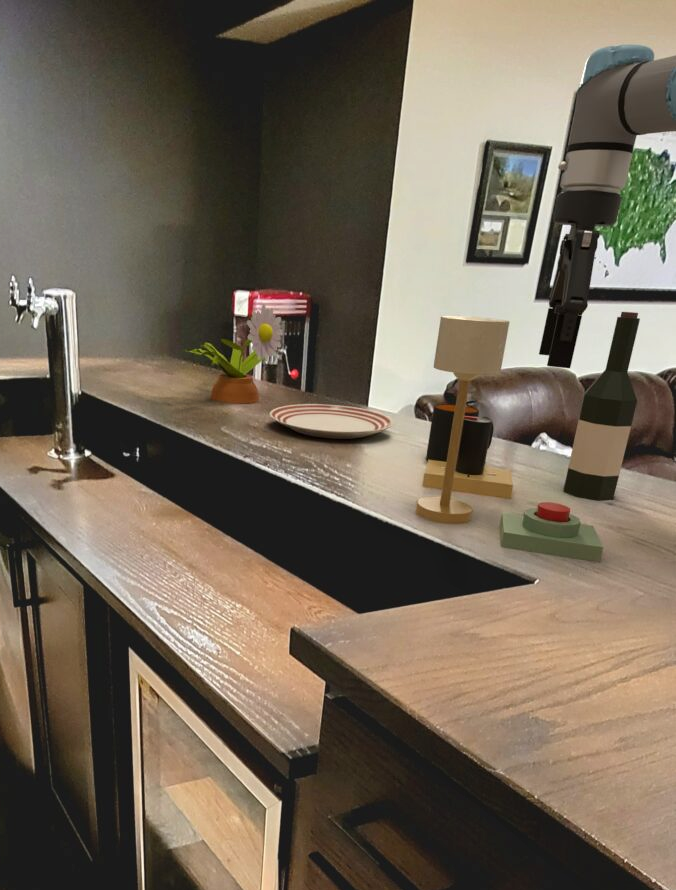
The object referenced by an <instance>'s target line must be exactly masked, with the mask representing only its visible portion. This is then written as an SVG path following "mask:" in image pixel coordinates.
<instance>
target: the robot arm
mask: <svg viewBox="0 0 676 890" xmlns="http://www.w3.org/2000/svg"><path fill="white" fill-rule="evenodd" d="M570 128H571V129H570V133H569V139H568V142H567V148H566V155H565V161H564V160H562V161H560V162H559V163H558V167H557V168H558V170H559V171H560V170H561V171H564V172H563V173H562V174H561V178H560V184H559V187H560V188H561V189H563V191H561V192H559V194H557V196H556V201H555V206H554V209H553V215H552V222H553V223H554V224H556V225H562V226H570V229H569V233H565V235H564V236H563V239H562V240H561V242H560V246H559V256H558V260H557V266H556V271H555V275H554V278H553V282H552V287H551V291H550V294H549V296H548V308H547V314H546V318H545V322H544V328H543V333H542V337H541V342H540V347H539V351H538V355H540V356H548V357H547V363H546V366H547V367H552V368H562V369H571V366H572V362H573V358H574V354H575V349H576V345H577V341H578V336H579V332H580V327H581V322H582V318H583V314H584V313H585V311H586V310H587V309H588V307H589V304H588V301H589V293H590V288H591V282H592V274H593V268H594V263H595V256H596V252H597V249H598V242H599V241H598V240H599V239H600V235H601V233H600V230H596V229H595V228H596V227H612V226H614V225H615V224H616V223H617V222H618V216H619V212H620V209H621V204H622V199H623V197H622V196H621V195H622V194H620V193H619V192H620V191H622V190H623V189H625V188H626V184H627V180H628V176H629V171H630V167H631V163H632V159H633V151H634V147H635V143H636V140H637V136H644V135H648V134H650V135H651V134H659V133H669V132H676V54H675V55H671V56H667V57H662V58H659V59H655V52H654V51H653V49H652V48H651V47H649V46H646V45H642V44H632V43H631V44H619V45H609V46H604V47H602V48H599V49H597V50H595V51H593V52H592V53H591V54H590V55H589V56H588V57H587V59H586V61H585V64H584V67H583V72H582V75H581V79H580V83H579V86H578V88H577V90H576V102H575V107H574V113H573V117H572V123H571V127H570Z"/></svg>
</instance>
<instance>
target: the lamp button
mask: <svg viewBox="0 0 676 890" xmlns="http://www.w3.org/2000/svg"><path fill="white" fill-rule="evenodd" d="M536 508H537V513H536V516H537V517H539V518H541V519H545V520H548V521H554V522H568V519H569V514H571V508H570V507H569V506H567V505H565V504H562V503H557V502H550V501H547V502H546V501H544V502H543V501H542V502H539V503H538V504H537V507H536Z"/></svg>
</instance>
